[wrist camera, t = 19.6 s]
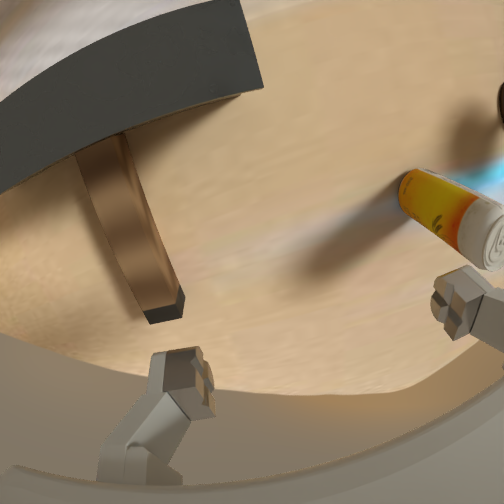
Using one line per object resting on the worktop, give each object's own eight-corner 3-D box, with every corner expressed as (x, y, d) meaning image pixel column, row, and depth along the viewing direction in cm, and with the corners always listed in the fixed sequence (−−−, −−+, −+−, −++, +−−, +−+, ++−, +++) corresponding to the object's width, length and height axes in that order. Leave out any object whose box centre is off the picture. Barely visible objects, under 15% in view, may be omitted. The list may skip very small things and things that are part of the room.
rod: (91, 147, 26) (74, 153, 22) (124, 133, 26) (110, 137, 22) (155, 303, 35) (149, 324, 32) (185, 296, 35) (182, 317, 31)
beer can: (390, 212, 32) (471, 277, 19) (399, 163, 30) (493, 206, 16) (427, 215, 33) (507, 274, 20) (436, 170, 30) (527, 213, 17)
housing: (1, 147, 24) (-74, 176, 12) (231, 43, 23) (237, -5, 11) (15, 191, 27) (-55, 235, 15) (246, 99, 26) (263, 87, 14)
